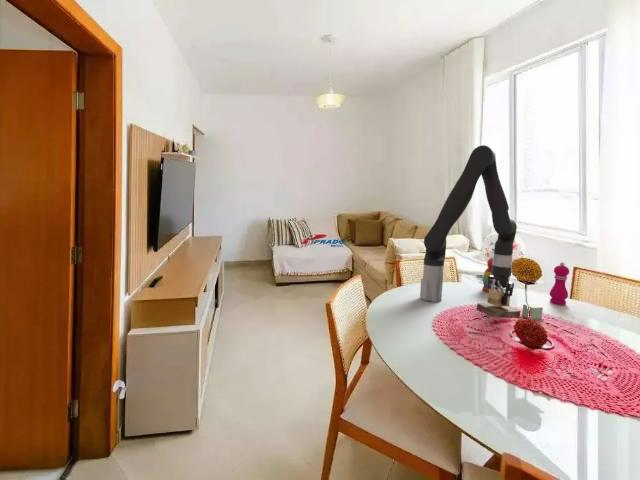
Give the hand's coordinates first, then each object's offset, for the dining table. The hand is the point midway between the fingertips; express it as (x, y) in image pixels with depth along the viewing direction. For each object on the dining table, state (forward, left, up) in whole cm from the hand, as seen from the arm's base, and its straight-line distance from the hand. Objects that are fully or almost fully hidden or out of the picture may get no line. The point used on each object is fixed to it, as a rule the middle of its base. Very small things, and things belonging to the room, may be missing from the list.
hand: (498, 302), depth 152 cm
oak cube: (0, 0, -1) cm, 1 cm away
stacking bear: (+19, +30, -4) cm, 36 cm away
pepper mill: (+37, +7, -4) cm, 38 cm away
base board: (0, 0, -4) cm, 4 cm away
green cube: (+10, -8, -4) cm, 14 cm away
